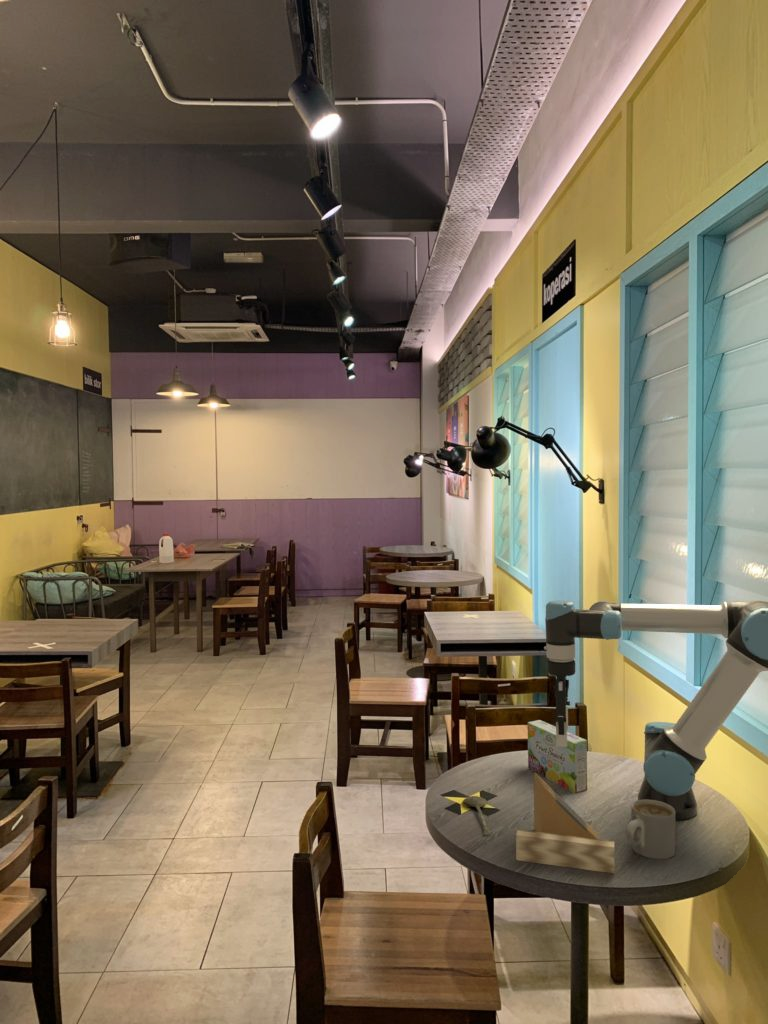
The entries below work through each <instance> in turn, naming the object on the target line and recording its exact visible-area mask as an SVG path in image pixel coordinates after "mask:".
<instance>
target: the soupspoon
mask: <svg viewBox="0 0 768 1024" xmlns="http://www.w3.org/2000/svg"><path fill="white" fill-rule="evenodd" d="M462 802H464V803H466V804H468V805H470V806H472V807H473V808H476V810H477V812H478V814H479V816H480V819H481V822H482V824H483V834H482V835H483V836H490V835H491V831H490V830H489V829H488V826H487V823H486V820H485V817H484V814H483V811H482V810H481V808H482V807H483V806H484V805H485V804H486V803H488V802H487V800H486V799H485V798H484V797H482V796H478V795H471V796H466V797H465V798H463V800H462Z"/></svg>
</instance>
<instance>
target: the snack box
mask: <svg viewBox="0 0 768 1024" xmlns="http://www.w3.org/2000/svg"><path fill="white" fill-rule="evenodd" d="M527 768H529V769H528V770H530V771H531V772H534V773H536V774H537V773H538V774H537V775H539V774H540V775H539V776H541V775H542V776H541V777H543V778H545V779H547V780H549V781H550V780H551V781H550V782H552V783H554V784H556V785H558V786H560V787H562V788H563V789H565V790H567V791H568V792H570V793H572V794H578V793H582V792H584V791H588V740H587V739H585V738H582V737H580V736H579V735H575V734H574V733H571V732H569V731H567V747H560V746H556V725H552V724H550V723H548V722H546V721H543V720H541V719H537V720H533V721H528V722H527Z"/></svg>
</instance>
